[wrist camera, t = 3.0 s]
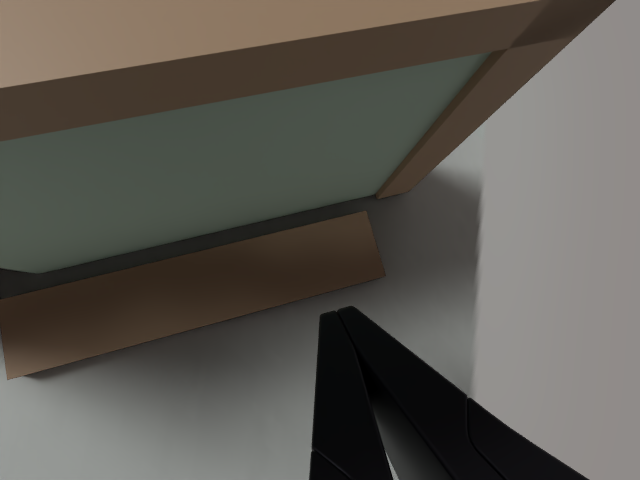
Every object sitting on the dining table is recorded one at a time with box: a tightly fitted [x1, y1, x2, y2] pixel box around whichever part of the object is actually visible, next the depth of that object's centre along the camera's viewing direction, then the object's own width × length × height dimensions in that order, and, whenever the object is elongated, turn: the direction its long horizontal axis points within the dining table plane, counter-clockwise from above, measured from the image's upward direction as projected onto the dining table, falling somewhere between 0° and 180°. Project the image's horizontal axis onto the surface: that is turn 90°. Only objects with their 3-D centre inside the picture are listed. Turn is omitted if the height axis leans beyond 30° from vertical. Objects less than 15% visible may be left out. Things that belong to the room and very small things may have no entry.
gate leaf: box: [0, 0, 615, 274], centre depth 11 cm, size 16×2×11 cm, turn 105°
